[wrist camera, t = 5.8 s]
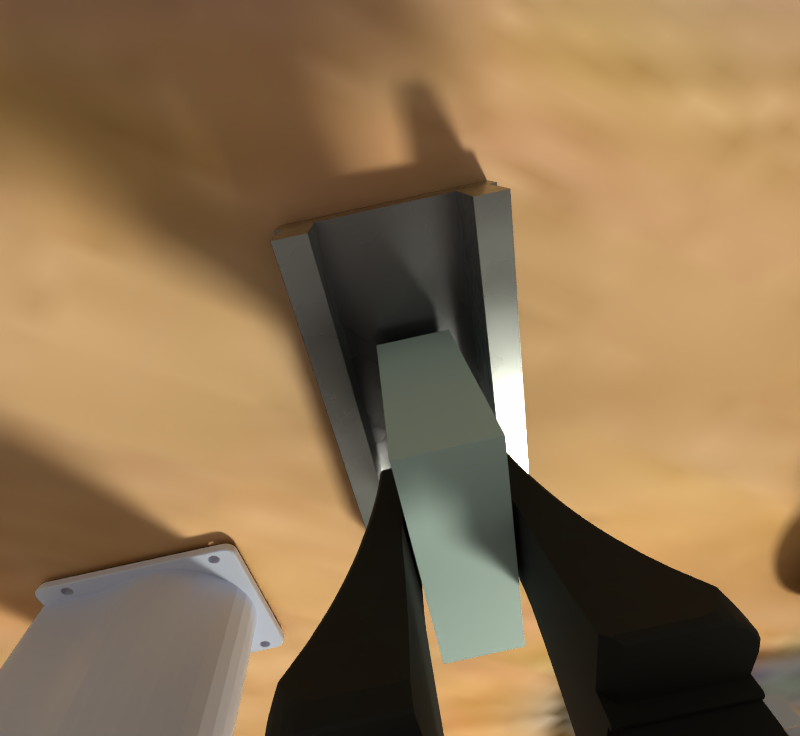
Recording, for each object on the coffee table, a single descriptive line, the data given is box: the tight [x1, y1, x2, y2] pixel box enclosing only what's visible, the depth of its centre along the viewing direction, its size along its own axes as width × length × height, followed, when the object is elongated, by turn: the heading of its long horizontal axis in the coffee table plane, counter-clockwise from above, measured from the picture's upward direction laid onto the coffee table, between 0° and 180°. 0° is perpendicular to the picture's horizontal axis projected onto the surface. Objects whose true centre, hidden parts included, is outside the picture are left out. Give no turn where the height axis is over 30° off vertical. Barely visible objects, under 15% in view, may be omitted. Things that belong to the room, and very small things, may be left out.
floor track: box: [271, 181, 529, 577], centre depth 16 cm, size 7×16×3 cm, turn 11°
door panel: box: [377, 330, 525, 664], centre depth 13 cm, size 2×8×6 cm, turn 11°
